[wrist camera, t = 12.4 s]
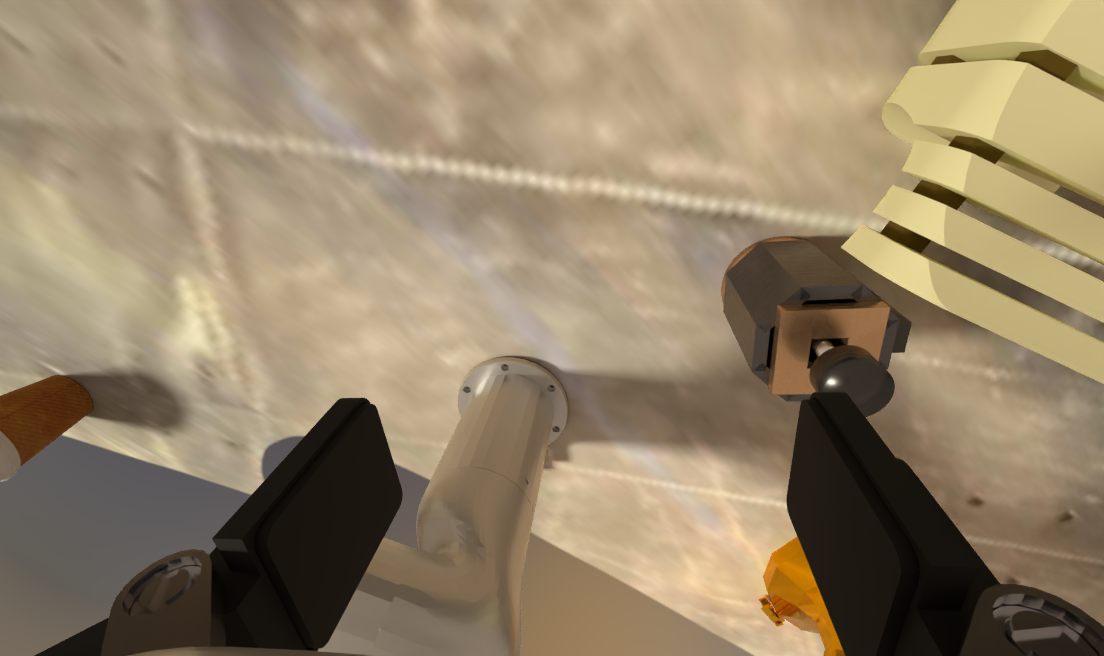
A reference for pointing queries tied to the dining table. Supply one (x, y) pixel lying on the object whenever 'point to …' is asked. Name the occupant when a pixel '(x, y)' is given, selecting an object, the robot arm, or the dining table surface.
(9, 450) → the glass of beer
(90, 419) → the dining table surface
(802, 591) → the yellow tall piece
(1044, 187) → the slatted curved stool
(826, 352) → the plunger
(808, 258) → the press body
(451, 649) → the robot arm
